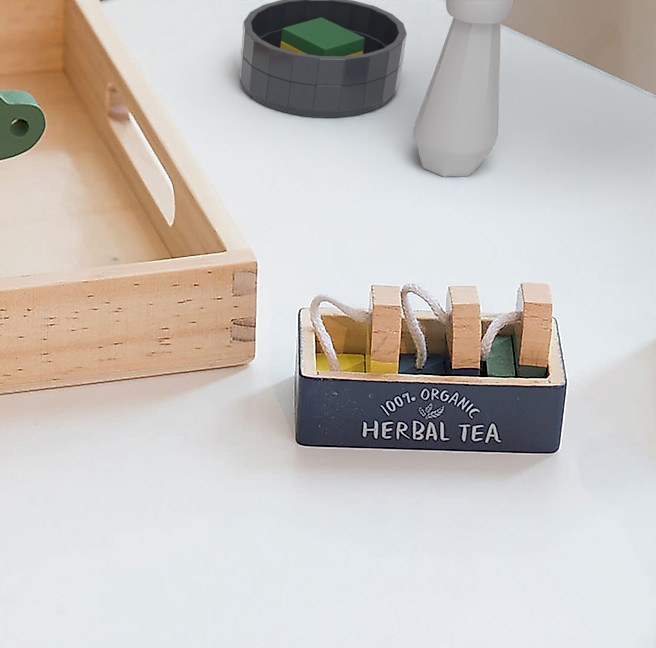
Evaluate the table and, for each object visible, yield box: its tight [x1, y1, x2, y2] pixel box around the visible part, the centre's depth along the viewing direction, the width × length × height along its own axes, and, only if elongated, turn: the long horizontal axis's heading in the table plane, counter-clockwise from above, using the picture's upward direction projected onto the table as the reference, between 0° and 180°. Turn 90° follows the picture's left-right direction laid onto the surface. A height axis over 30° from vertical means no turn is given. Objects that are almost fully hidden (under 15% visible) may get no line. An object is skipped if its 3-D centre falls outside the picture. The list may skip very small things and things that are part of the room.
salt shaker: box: [412, 0, 515, 178], centre depth 104 cm, size 6×6×13 cm
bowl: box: [239, 0, 408, 118], centre depth 117 cm, size 12×12×5 cm
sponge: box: [280, 17, 365, 56], centre depth 117 cm, size 4×5×4 cm
